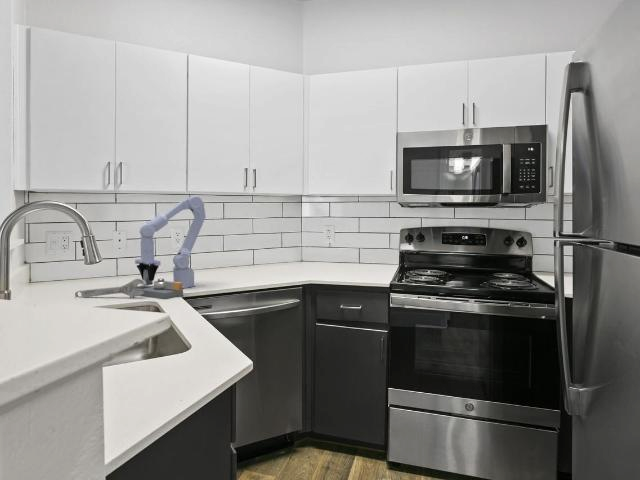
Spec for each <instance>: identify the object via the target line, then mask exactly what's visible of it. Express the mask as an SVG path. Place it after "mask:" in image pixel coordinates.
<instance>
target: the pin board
mask: <svg viewBox="0 0 640 480" xmlns="http://www.w3.org/2000/svg"><path fill="white" fill-rule="evenodd" d="M137 289H138V290H140V291H143V292H144V294H142V295H140V296H141V297H144V298H145V297H146V298H155V299H162V300H168V299H173V298H177V297H181V296H184V289H182V290H180V291H177V290H171V289H154V285H142V284H141V285H137ZM140 296H139V297H140Z"/></svg>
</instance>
